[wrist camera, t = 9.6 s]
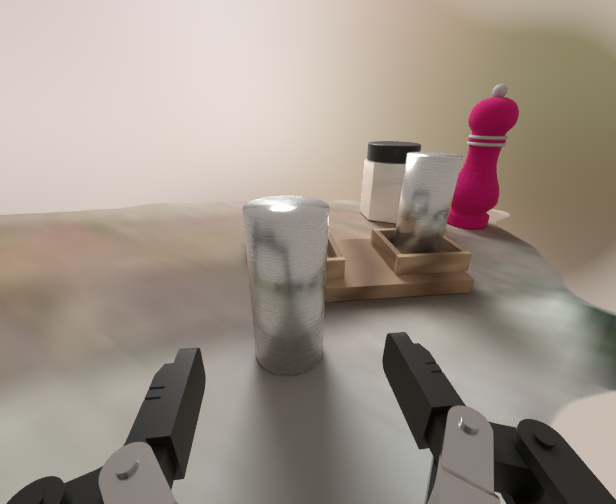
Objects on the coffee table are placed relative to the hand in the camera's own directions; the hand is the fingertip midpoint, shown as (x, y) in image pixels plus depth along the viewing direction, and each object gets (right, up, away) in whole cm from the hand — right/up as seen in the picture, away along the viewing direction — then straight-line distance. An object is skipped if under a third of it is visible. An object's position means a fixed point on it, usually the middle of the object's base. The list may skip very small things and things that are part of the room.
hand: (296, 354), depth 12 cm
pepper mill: (+27, +9, +35) cm, 45 cm away
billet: (-1, -3, +9) cm, 10 cm away
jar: (+14, +11, +38) cm, 42 cm away
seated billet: (+13, +4, +20) cm, 24 cm away
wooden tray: (+6, +2, +20) cm, 21 cm away
